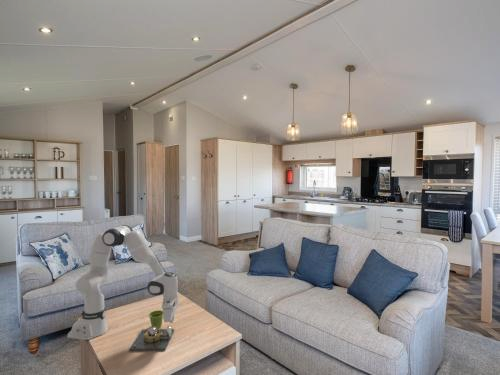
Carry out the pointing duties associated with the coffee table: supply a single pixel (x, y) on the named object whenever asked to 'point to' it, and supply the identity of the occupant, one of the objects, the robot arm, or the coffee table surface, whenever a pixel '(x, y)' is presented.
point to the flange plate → (151, 346)
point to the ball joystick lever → (157, 335)
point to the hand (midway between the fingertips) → (171, 321)
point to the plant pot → (156, 318)
